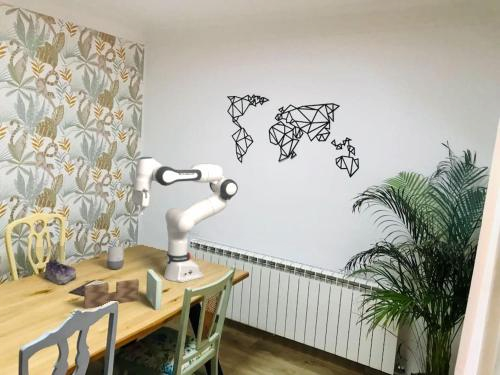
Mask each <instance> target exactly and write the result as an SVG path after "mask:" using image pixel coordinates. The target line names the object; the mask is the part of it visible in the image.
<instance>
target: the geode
mask: <svg viewBox="0 0 500 375" xmlns="http://www.w3.org/2000/svg"><path fill="white" fill-rule="evenodd" d="M45 264H46V265H45V271H44V279H47V280H49V281H51V282H52V283H55V284H59V285H66V284H68V283H70V282H71V281H72V280H75V279H77V270H76V268H75V267H74V266H69V265H66V264H63V263H60V262H59V261H57V260H56V259H53V261H52V260H49V261H48V262H46V263H45Z"/></svg>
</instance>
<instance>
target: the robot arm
mask: <svg viewBox="0 0 500 375" xmlns="http://www.w3.org/2000/svg"><path fill="white" fill-rule="evenodd" d="M153 181H154V182H156V183H158V184H159V185H161V186H165V187H167V186H170V185H172V184H175V183H177V182H194V183H198V184H199V183H201V184H204V183H205V184H207V183H209V189H210V190H211V191H212V192H213V194H211V195H210V196H207V197H206V198H203V199H201V200H199V201H196V202H194V203H193V204H192V205H191V206H190V207H189V208H187V209H185V210H182V209H180V208H178V207H177V208H176V207H173V208H170V209H168V210H167V211H166V212H165V221H166V228H167V230H166V231H167V237H168V243H167V244H168V245H167V253H166V268H165V271H164V275H163V278H164V279H165V280H168V281H171V282H172V281H174V282H178V283H186V282H189V281H193V280H198V279H202V278H203V277H204V273H203V272H202V271H201V270H200V266H199V265H198V263H196V261H194V260H193V258H194V255H193V254H192V253H190V252H189V251H188V249H189V248H188V247H189V238H188V235H187V233H190V232H192V230H193V229H194V227H195V226H197V225H198V224H199V223H201V222H203V221H204V220H207V219H208V218H210V217H212V216H215V215H217V214H219V213H221V211H224V210H225V209H226V207H227V204H228V202H227V201H230V200H231V199H232V198H233V197H234V196H235V195H236V194H237V193H238V189H239V185H238V184H237V182H236V181H234V179H231V178H228V177H225V176H224V170H223V168H222V167H221V166H220V165H219V164H215V163H196V164H193V165H191V166H190V168H189V169H175V168H172V167H171V166H166V165H164V164H161V163H160V162H158V161H157V160H156V159H155V158H154V157H152V156H143V157H140V158H139V159H138V160H137V163H136V167H135V177H134V180H133V183H132V185H131V188H132V191H131V192H132V193H131V195H132V196H131V200H132V201H133V202H134V211H136V212H138V214H139V215H141V216H143V215H144V211H145V208H148V207H149V204H150V192H151V188H152V183H153Z"/></svg>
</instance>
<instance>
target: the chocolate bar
mask: <svg viewBox="0 0 500 375" xmlns="http://www.w3.org/2000/svg"><path fill="white" fill-rule="evenodd" d="M104 283H107V282H106V281H101V280H96V279H93V280H90V281H88V282H87V283H84V284H82V285H80V286H79V287H76V288H74V289H72V290H70V291H69V292H68V294H71V295H76V296H80V297H83V298H84V292H85V286H89V285H96V284H104Z"/></svg>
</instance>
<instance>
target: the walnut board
mask: <svg viewBox="0 0 500 375" xmlns="http://www.w3.org/2000/svg"><path fill="white" fill-rule="evenodd" d="M139 283H140V281H139V279H138V278H137V279H129V280H128V279H127V280H122V281H116V285H115V286H116V287H115V291H113V292H109V282H106V283H104V284H96V285H89V286H85V292H84V297H83V298H84V299H83V301H84V302H83V303H84V304H83V305H84V306H83V307H84V310H85V309H86V310H88V309H94V308H100V307H99V306H101V307H103V306H102V305H104V304H106V303H108V302H110V301H118V302H119V304H126V303H131V302H137V301H139V293H140V292H139V289H140V284H139ZM119 304H118V305H119Z"/></svg>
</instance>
